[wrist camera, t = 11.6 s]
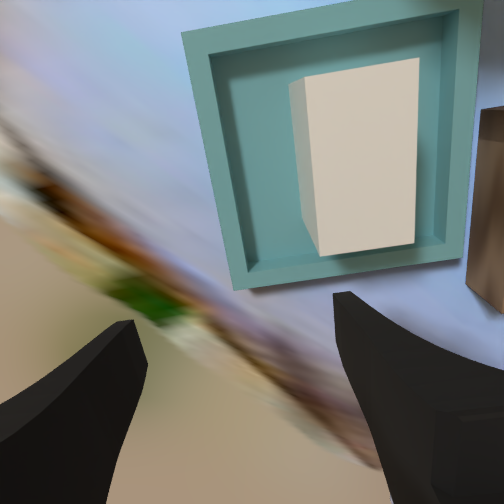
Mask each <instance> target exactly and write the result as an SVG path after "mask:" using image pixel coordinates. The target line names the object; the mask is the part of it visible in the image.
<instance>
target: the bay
mask: <svg viewBox="0 0 504 504" xmlns="http://www.w3.org/2000/svg"><path fill="white" fill-rule="evenodd" d="M465 284H466V285H468V286H469V287H470V288H471V289H472V290H474V291H475V292H476V293H477V294H478V295H480V296H481V297H482V298H483V299H484V300H486V301H487V302H488V303H489V304H490V305H492V306H493V307H494V308H495V309H496V310H498V311H499V312H500V313H501V314H504V106H500V107H494V108H487V109H481V114H480V125H479V137H478V148H477V159H476V171H475V182H474V193H473V204H472V216H471V227H470V238H469V250H468V261H467V272H466V283H465Z"/></svg>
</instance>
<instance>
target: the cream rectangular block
mask: <svg viewBox="0 0 504 504" xmlns="http://www.w3.org/2000/svg"><path fill="white" fill-rule="evenodd" d="M288 88H289V97H290V107H291V116H292V126H293V136H294V145H295V155H296V165H297V174H298V184H299V194H300V203H301V213H302V219H303V221H304V223H305V226H306V228H307V230H308V232H309V234H310V236H311V238H312V241H313V243H314V245H315V247H316V249H317V251H318V253H319V256H320V257H321V256H328V255H335V254H342V253H349V252H356V251H363V250H370V249H377V248H384V247H391V246H398V245H405V244H412V243H414V237H415V200H416V164H417V128H418V92H419V57H418V58H413V59H407V60H401V61H395V62H389V63H383V64H377V65H372V66H366V67H360V68H354V69H348V70H342V71H336V72H331V73H325V74H319V75H313V76H307V77H303V78H301V79H299V80H297V81H294V82H292V83H290V84H288Z"/></svg>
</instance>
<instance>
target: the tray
mask: <svg viewBox="0 0 504 504" xmlns="http://www.w3.org/2000/svg"><path fill="white" fill-rule="evenodd" d="M483 3H484V0H353V1H348V2H343V3H337V4H332V5H326V6H321V7H316V8H310V9H305V10H299V11H294V12H289V13H283V14H278V15H272V16H267V17H262V18H256V19H251V20H245V21H240V22H235V23H229V24H224V25H218V26H213V27H208V28H202V29H197V30H191V31H186V32H181V36H182V40H183V45H184V50H185V55H186V60H187V65H188V70H189V75H190V80H191V84H192V89H193V94H194V99H195V104H196V109H197V114H198V119H199V124H200V129H201V133H202V138H203V143H204V148H205V153H206V158H207V163H208V168H209V173H210V177H211V182H212V187H213V192H214V197H215V202H216V207H217V212H218V217H219V221H220V226H221V231H222V236H223V241H224V246H225V251H226V256H227V261H228V265H229V270H230V275H231V280H232V285H233V290H234V291H235V290H242V289H249V288H256V287H263V286H270V285H277V284H284V283H290V282H297V281H304V280H311V279H318V278H325V277H332V276H339V275H346V274H353V273H360V272H367V271H373V270H380V269H387V268H394V267H401V266H408V265H415V264H422V263H429V262H436V261H443V260H450V259H456V258H463V246H464V234H465V222H466V210H467V198H468V186H469V173H470V161H471V149H472V137H473V125H474V113H475V100H476V88H477V76H478V64H479V52H480V40H481V28H482V15H483ZM418 57H419V92H418V128H417V164H416V200H415V237H414V243H412V244H405V245H398V246H391V247H384V248H377V249H370V250H363V251H356V252H349V253H342V254H335V255H328V256H321V257H320V256H319V253H318V251H317V249H316V247H315V245H314V243H313V241H312V238H311V236H310V234H309V232H308V230H307V228H306V226H305V223H304V221H303V219H302V213H301V203H300V194H299V184H298V174H297V165H296V155H295V145H294V136H293V126H292V116H291V107H290V97H289V88H288V84H290V83H292V82H294V81H297V80H299V79H301V78H303V77H307V76H313V75H319V74H325V73H331V72H336V71H342V70H348V69H354V68H360V67H366V66H372V65H377V64H383V63H389V62H395V61H401V60H407V59H413V58H418Z"/></svg>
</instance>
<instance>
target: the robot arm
mask: <svg viewBox="0 0 504 504" xmlns="http://www.w3.org/2000/svg"><path fill="white" fill-rule="evenodd" d="M333 306H334V321H335V337H336V344H337V347H338V351H339V354H340V358H341V361H342V364H343V367H344V370H345V372H346V374H347V377H348V379H349V381H350V384H351V386H352V388H353V391H354V393H355V395H356V398H357V400H358V402H359V405H360V407H361V409H362V411H363V414H364V416H365V418H366V421H367V423H368V426H369V428H370V431H371V434H372V437H373V440H374V443H375V446H376V449H377V452H378V455H379V458H380V462H381V465H382V468H383V471H384V475H385V478H386V481H387V484H388V488H389V491H390V501H391V503H392V504H504V371H503V370H500V369H497V368H494V367H491V366H487V365H484V364H481V363H479V362H476V361H473V360H470V359H467V358H465V357H462V356H460V355H457V354H455V353H452V352H450V351H448V350H445V349H443V348H441V347H438V346H436V345H434V344H432V343H430V342H428V341H426V340H424V339H422V338H420V337H418V336H416V335H414V334H413V333H411V332H409V331H407V330H406V329H404V328H402V327H401V326H399V325H397V324H396V323H394V322H393V321H391V320H389V319H388V318H386V317H385V316H383V315H382V314H381V313H379V312H378V311H376V310H375V309H374V308H372V307H371V306H369V305H368V304H367V303H365V302H364V301H363V300H361V299H360V298H359V297H357V296H356V295H355V294H353V293H352V292H351V291H347V292H340V293H333ZM147 367H148V363H147V360H146V356H145V354H144V351H143V347H142V344H141V342H140V338H139V335H138V332H137V329H136V326H135V323H134V320H125V321H118V322H116V323H114V324H113V325H111V326H110V327H108V328H107V329H106V330H104V331H103V332H102V333H101V334H99V335H98V336H97V337H96V338H94V339H93V340H92V341H91V342H89V343H88V344H87V345H86V346H84V347H83V348H82V349H80V350H79V351H78V352H77V353H75V354H74V355H73V356H72V357H70V358H69V359H68V360H66V361H65V362H64V363H62V364H61V365H60V366H58V367H57V368H56V369H54V370H53V371H52V372H50V373H49V374H47V375H46V376H45V377H43V378H42V379H40V380H39V381H37V382H36V383H34V384H33V385H31V386H30V387H28V388H27V389H25V390H23V391H22V392H20V393H19V394H17V395H16V396H14V397H12V398H10V399H9V400H7V401H5V402H4V403H2V404H0V504H106V501H107V497H108V492H109V488H110V484H111V481H112V477H113V473H114V470H115V466H116V462H117V459H118V456H119V453H120V450H121V447H122V444H123V441H124V439H125V436H126V434H127V431H128V428H129V426H130V423H131V420H132V418H133V415H134V412H135V410H136V407H137V404H138V401H139V398H140V396H141V393H142V390H143V386H144V382H145V377H146V372H147Z"/></svg>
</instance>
